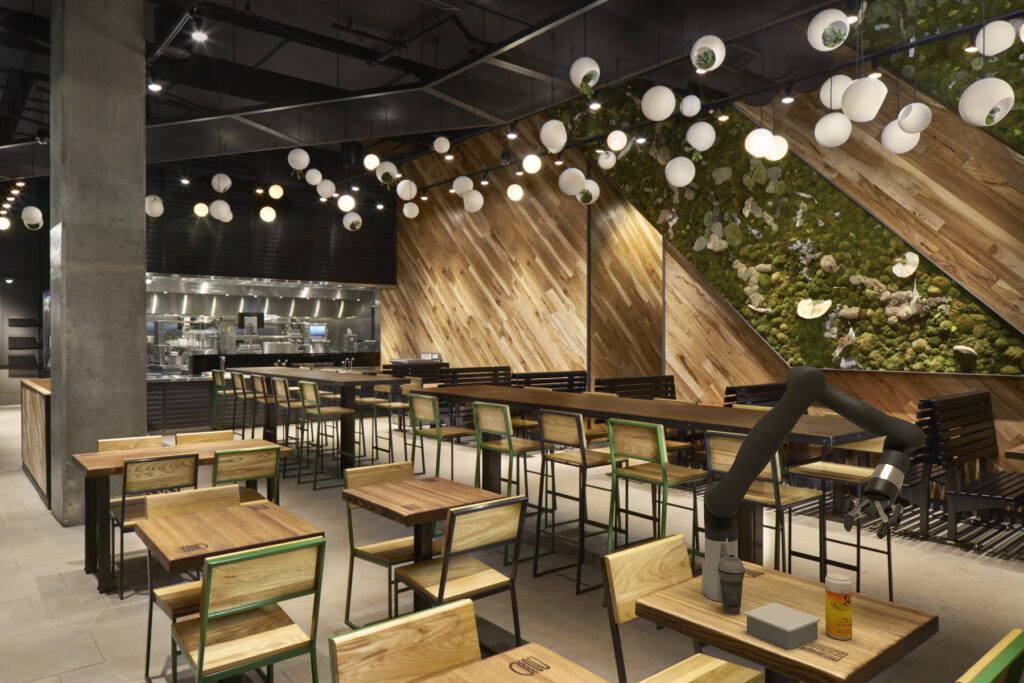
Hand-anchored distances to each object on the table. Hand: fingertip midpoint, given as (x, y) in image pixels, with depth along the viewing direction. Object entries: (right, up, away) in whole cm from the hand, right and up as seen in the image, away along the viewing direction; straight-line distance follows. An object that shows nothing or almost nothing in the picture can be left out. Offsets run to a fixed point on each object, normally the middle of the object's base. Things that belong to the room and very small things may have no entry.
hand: (862, 533), depth 173 cm
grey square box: (-24, -24, -7) cm, 35 cm away
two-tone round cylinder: (-10, -24, -7) cm, 27 cm away
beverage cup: (-32, -24, +8) cm, 41 cm away
